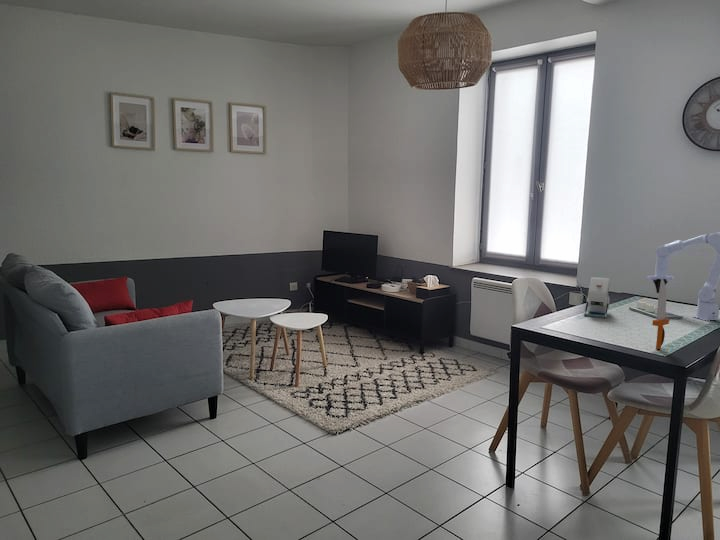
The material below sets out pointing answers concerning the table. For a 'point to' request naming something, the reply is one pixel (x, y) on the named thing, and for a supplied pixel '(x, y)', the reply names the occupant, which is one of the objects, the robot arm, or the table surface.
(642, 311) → the panel
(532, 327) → the table surface
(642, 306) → the breaker
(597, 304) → the robotic device
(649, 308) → the breaker
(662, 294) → the knife
